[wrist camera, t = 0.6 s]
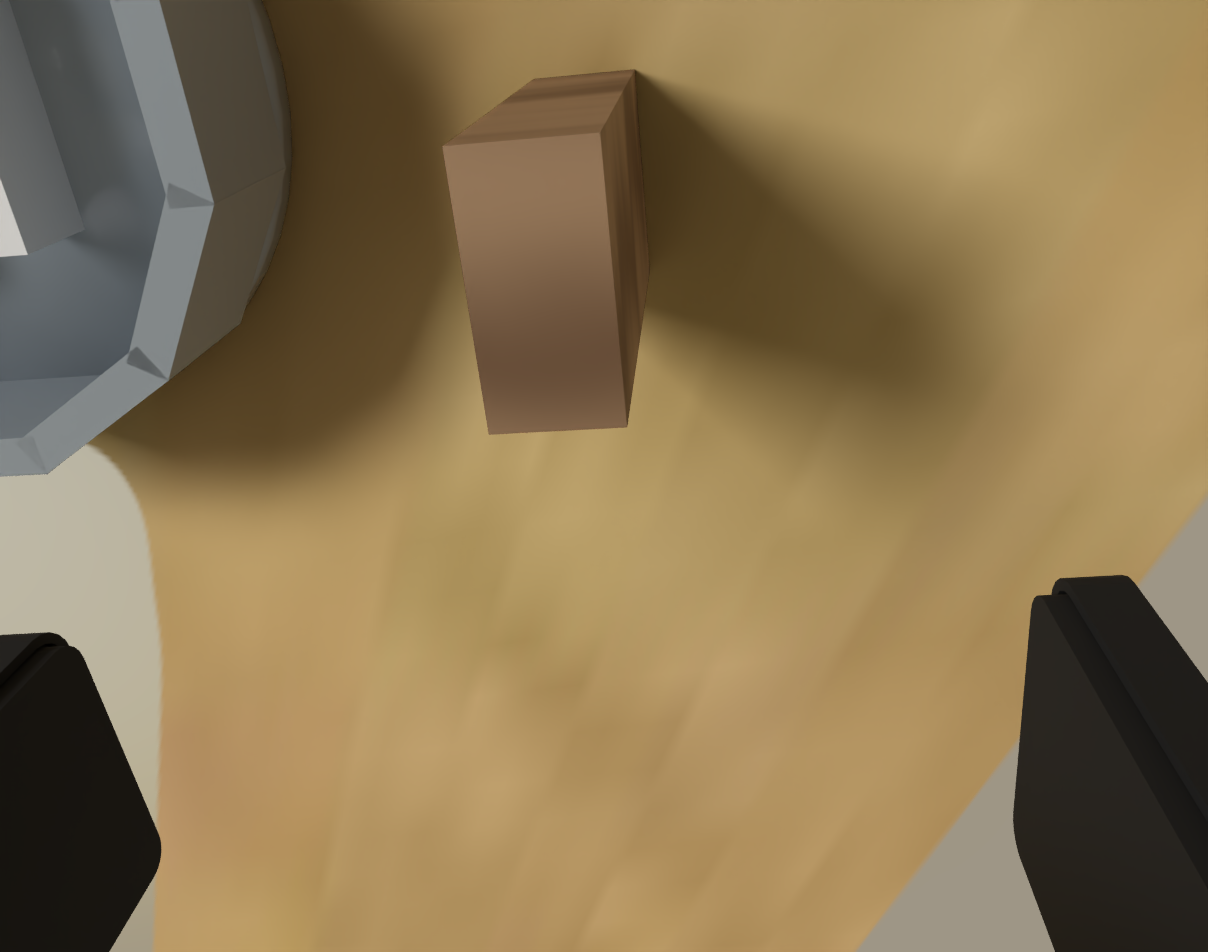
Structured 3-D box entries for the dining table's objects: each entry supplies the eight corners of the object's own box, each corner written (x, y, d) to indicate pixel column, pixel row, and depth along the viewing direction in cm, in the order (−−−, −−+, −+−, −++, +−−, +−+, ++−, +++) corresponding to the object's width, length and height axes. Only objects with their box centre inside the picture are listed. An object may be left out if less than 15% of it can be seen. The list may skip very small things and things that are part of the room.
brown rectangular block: (533, 79, 29) (442, 146, 19) (634, 69, 29) (599, 132, 18) (557, 277, 32) (488, 434, 21) (649, 270, 32) (627, 427, 21)
